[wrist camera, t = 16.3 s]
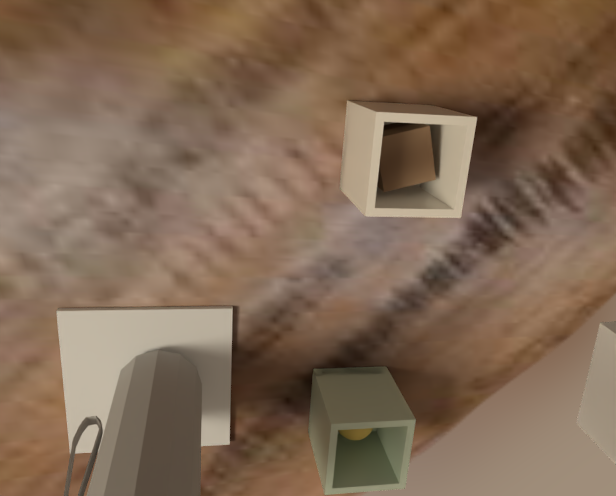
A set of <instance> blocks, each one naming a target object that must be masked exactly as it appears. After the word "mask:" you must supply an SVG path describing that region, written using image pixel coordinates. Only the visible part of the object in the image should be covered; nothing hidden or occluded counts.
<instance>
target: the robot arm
mask: <svg viewBox="0 0 616 496" xmlns="http://www.w3.org/2000/svg"><path fill="white" fill-rule="evenodd" d="M577 425H578V426H580V428H581V429H582V430H583V431H584V432H585V433H586V434H587V435H588V436H589V437H590V438H591V439H592V440H593V441H594V442H595V443H596V445H597V446H598V447H599V448H600V449H601V450H603V452H604V453H605V454H606V455H607V456H608V457H609V458H610V459H611V460H612V461H613V462H614V463H615V464H616V322H602V323H600V326H599V330H598V335H597V339H596V343H595V347H594V351H593V355H592V360H591V364H590V368H589V372H588V376H587V380H586V385H585V389H584V393H583V398H582V402H581V406H580V410H579V415H578V419H577Z"/></svg>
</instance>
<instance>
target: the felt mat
mask: <svg viewBox="0 0 616 496" xmlns="http://www.w3.org/2000/svg"><path fill="white" fill-rule="evenodd" d="M232 315H233V307H232V306H190V307H116V308H58V309H57V322H58V332H59V343H60V353H61V364H62V374H63V385H64V395H65V406H66V416H67V427H68V437H69V448H70V454H71V447H72V441H73V438H74V436H75V434H76V432H77V430H78V427H79V426H80V424H81V423H82V421H83V420H84V419H85V417H91V416H97V417H98V418H99V419H100V420H101V422H102V428H103V434H104V430H105V426H106V423H107V419H108V415H109V412H110V408H111V404H112V400H113V397H114V393H115V389H116V386H117V382H118V378H119V375H120V371H121V369H122V368H123V367H125V366H126V365H127V364H128V363H129V362H130V361H131V360H132V359H133V358H134V357H135V356H137V355H141V354H144V353H148V352H152V351H156V350H162V351H167V352H172V353H178V354H181V355H182V356H183V357H185V358H186V359H187V360H188V361H190V362H191V363H192V364H193V365H195V366H196V368H197V371H198V374H199V377H200V380H201V383H202V418H201V446H212V445H229V444H230V404H231V360H232ZM98 431H99V428H98V426H97V424H94V425H89V426H88V427H87V428H86V429H85V431H84V432H83V433H82V435H81V437H80V440H79V442H78V444H77V446H76V450H75V453H91V452H92V450H93V447H94V443H95V440H96V437H97V434H98ZM103 434H102V438H103ZM101 441H102V439H101ZM100 445H101V443H100ZM99 449H100V446H99ZM99 449H98V452H99Z"/></svg>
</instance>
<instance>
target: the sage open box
mask: <svg viewBox="0 0 616 496" xmlns="http://www.w3.org/2000/svg"><path fill="white" fill-rule="evenodd" d="M415 422H416V419H415V417H414V415H413V414H412V412H411V410H410V408H409V406H408V405H407V403H406V401H405V399H404V397H403V396H402V394H401V392H400V390H399V388H398V387H397V385H396V383H395V381H394V379H393V378H392V376H391V374H390V372H389V370H388V369H387V367H386V366H382V367H353V368H324V369H313V379H312V391H311V404H310V416H309V429H308V433H309V437H310V441H311V445H312V448H313V452H314V456H315V460H316V464H317V468H318V472H319V476H320V479H321V483H322V487H323V491H324V495H329V494H342V493H355V492H368V491H381V490H393V489H405V486H406V479H407V473H408V467H409V460H410V454H411V448H412V441H413V435H414V428H415ZM367 428H373V430H372V431H371V433H370V434H369V435H368V436H367V437H365V438H364V439H361V440H349V439H347V438H345V437H343V436H342V435H341V434H340V433H339V431H338V430H349V429H367Z"/></svg>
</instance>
